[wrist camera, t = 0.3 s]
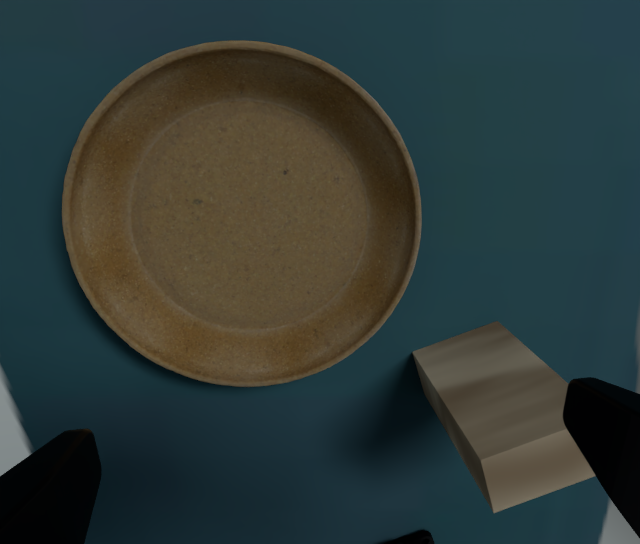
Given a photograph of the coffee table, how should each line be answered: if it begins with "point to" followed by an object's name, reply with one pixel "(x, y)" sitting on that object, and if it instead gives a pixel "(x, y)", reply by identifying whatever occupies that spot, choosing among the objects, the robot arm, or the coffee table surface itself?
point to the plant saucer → (241, 213)
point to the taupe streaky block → (502, 414)
